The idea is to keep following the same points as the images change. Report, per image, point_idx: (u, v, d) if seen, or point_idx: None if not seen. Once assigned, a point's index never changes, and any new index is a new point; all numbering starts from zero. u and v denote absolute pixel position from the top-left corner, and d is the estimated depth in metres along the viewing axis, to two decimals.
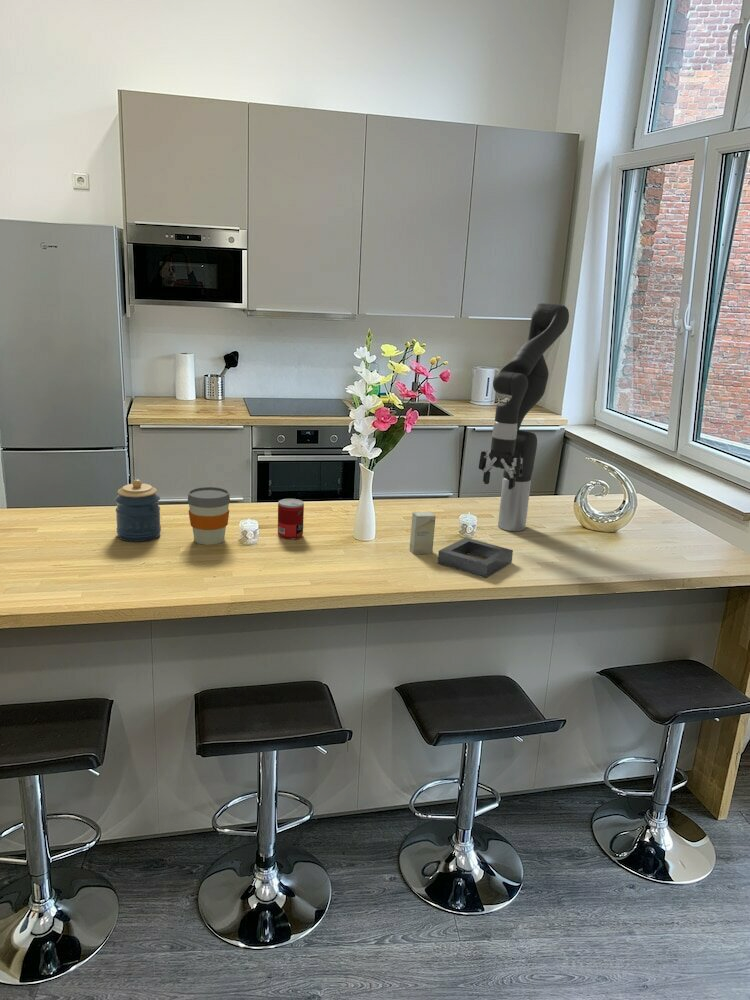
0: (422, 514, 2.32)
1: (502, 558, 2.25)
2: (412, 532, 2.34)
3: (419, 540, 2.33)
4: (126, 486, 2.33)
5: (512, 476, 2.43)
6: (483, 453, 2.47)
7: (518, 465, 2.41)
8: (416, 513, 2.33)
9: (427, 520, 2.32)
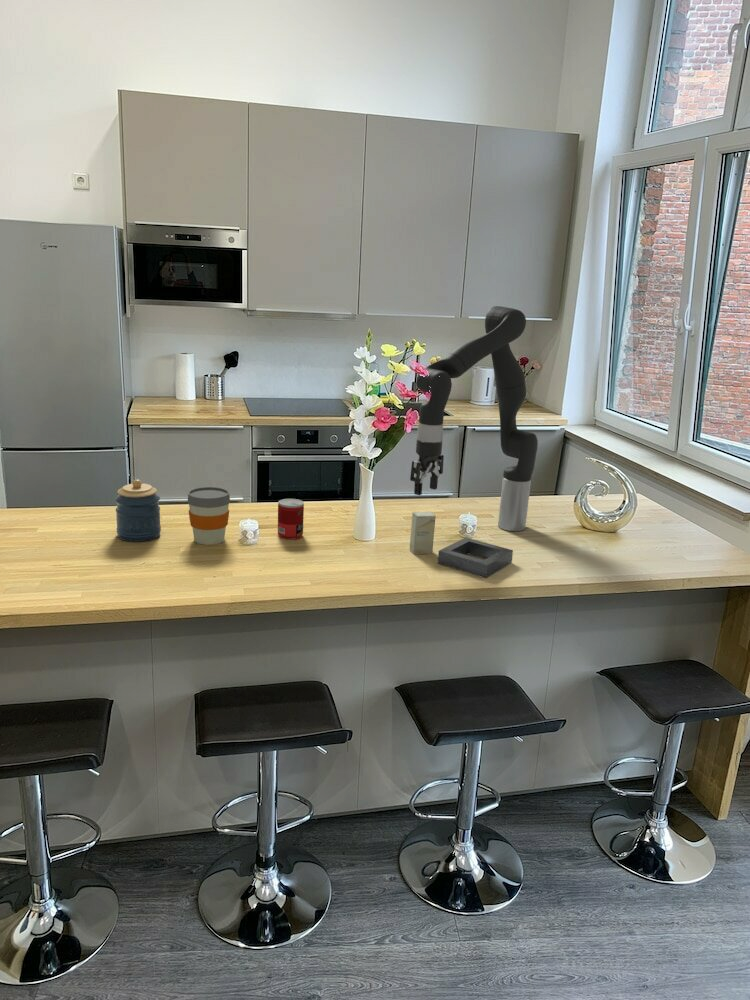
0: (422, 514, 2.32)
1: (502, 558, 2.25)
2: (412, 532, 2.34)
3: (419, 540, 2.33)
4: (126, 486, 2.33)
5: (438, 475, 2.33)
6: None
7: (442, 462, 2.33)
8: (416, 513, 2.33)
9: (427, 520, 2.32)
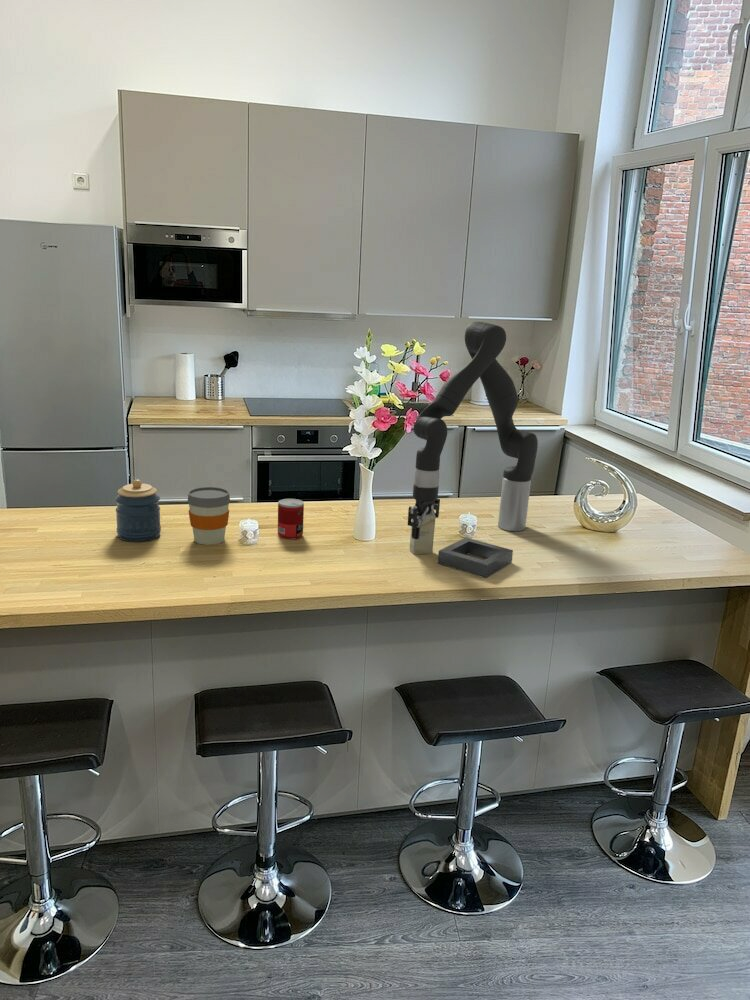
0: None
1: (502, 558, 2.25)
2: None
3: (419, 540, 2.33)
4: (126, 486, 2.33)
5: None
6: (416, 509, 2.27)
7: (438, 505, 2.37)
8: None
9: (427, 520, 2.32)
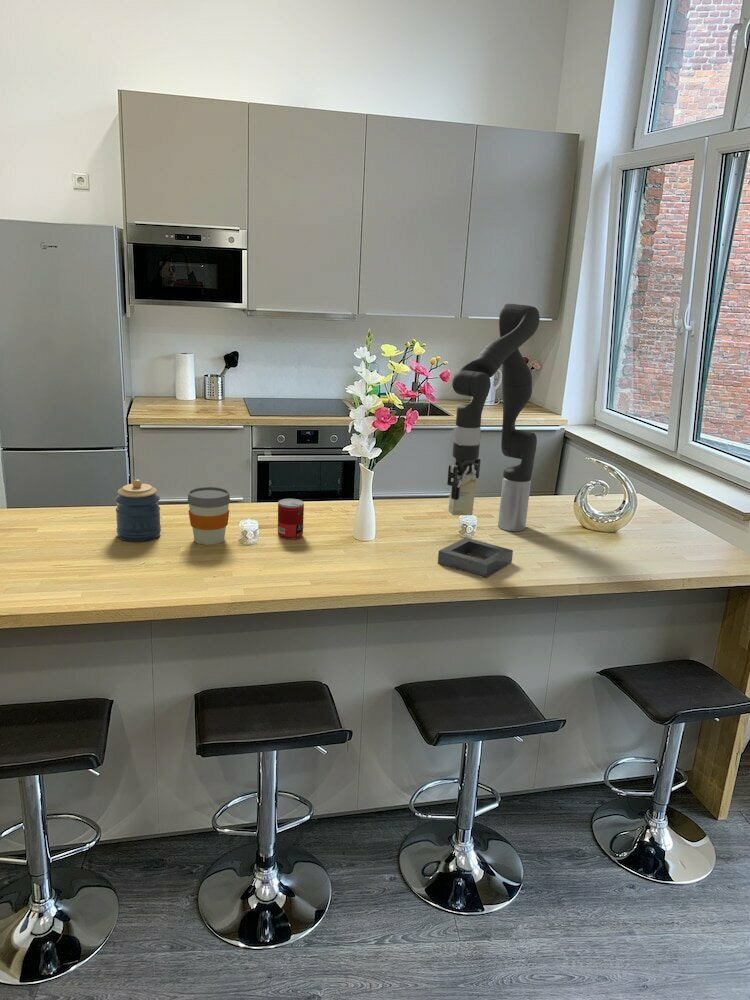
0: None
1: (502, 558, 2.25)
2: None
3: (459, 501, 2.24)
4: (126, 486, 2.33)
5: None
6: (457, 468, 2.18)
7: (479, 465, 2.28)
8: None
9: (467, 480, 2.23)
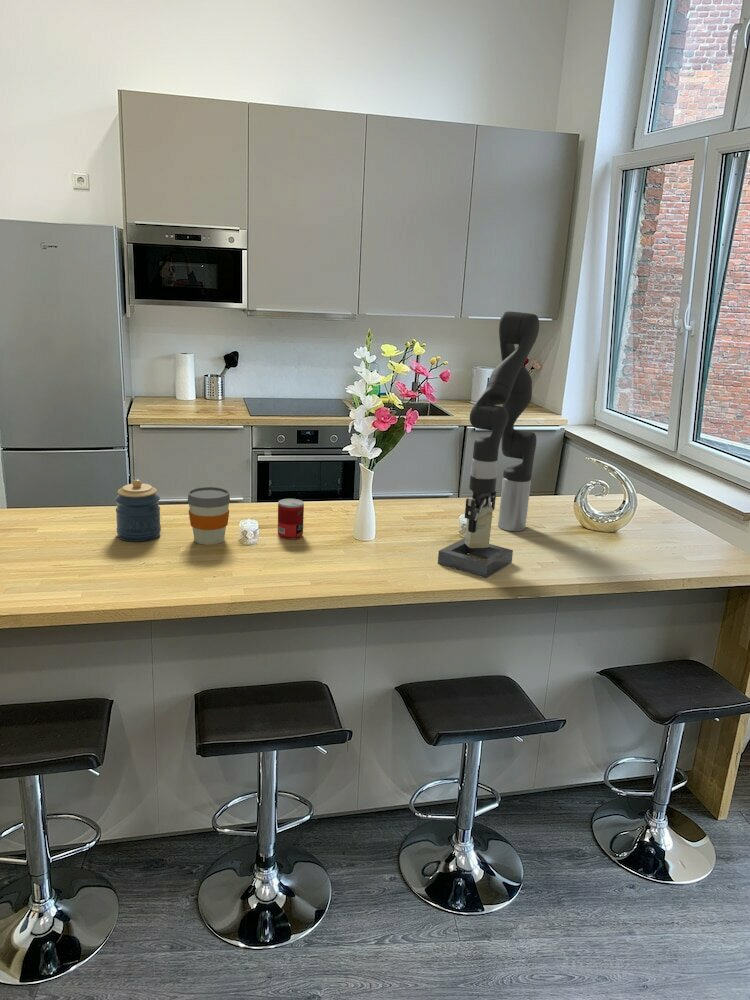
0: None
1: (502, 558, 2.25)
2: None
3: (476, 533, 2.24)
4: (126, 486, 2.33)
5: None
6: (474, 501, 2.18)
7: (495, 498, 2.28)
8: None
9: (484, 513, 2.23)
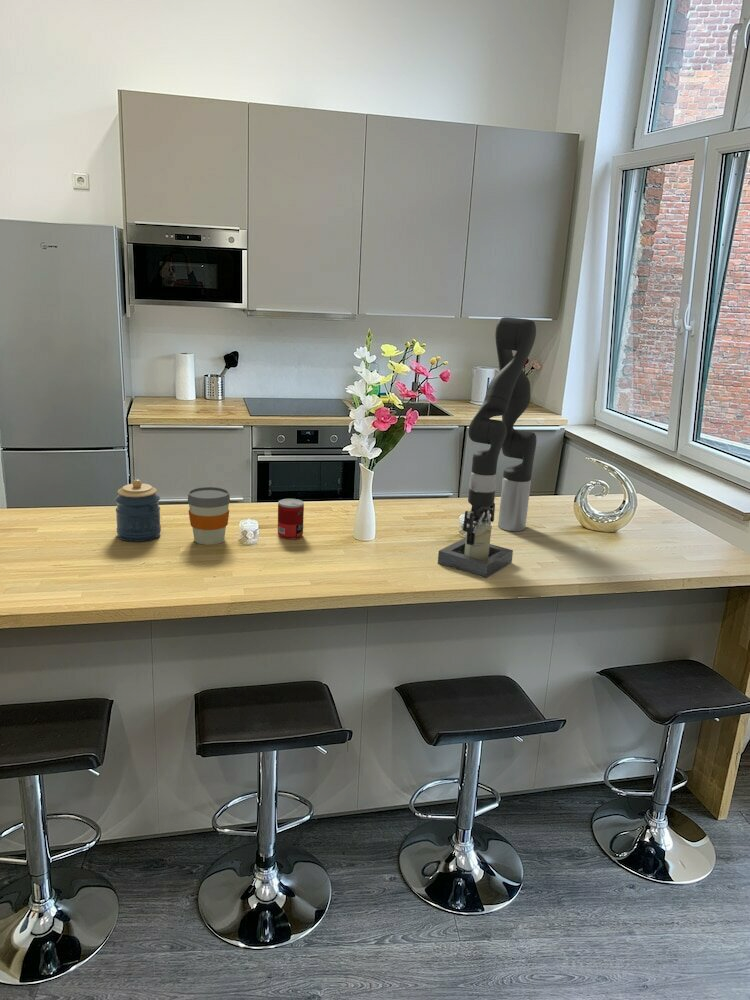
0: None
1: (502, 558, 2.25)
2: None
3: (474, 551, 2.26)
4: (126, 486, 2.33)
5: (490, 523, 2.29)
6: (473, 514, 2.19)
7: (494, 509, 2.30)
8: None
9: (483, 531, 2.25)
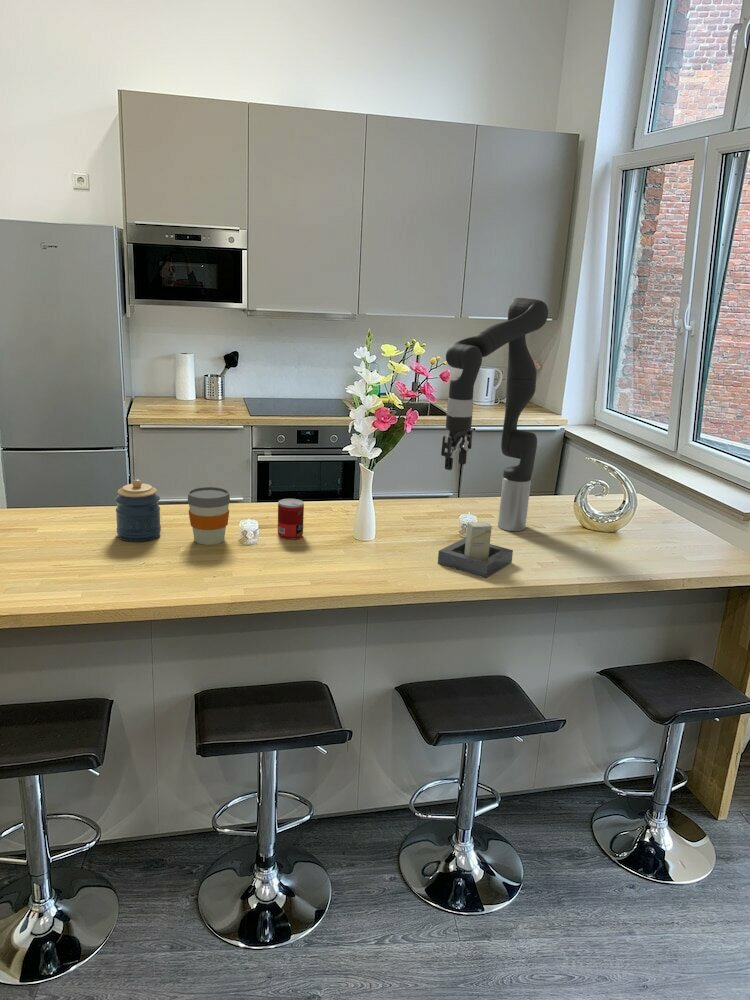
0: (478, 524, 2.26)
1: (502, 558, 2.25)
2: (467, 543, 2.28)
3: (474, 551, 2.26)
4: (126, 486, 2.33)
5: (467, 450, 2.35)
6: None
7: (471, 436, 2.35)
8: (471, 523, 2.26)
9: (483, 531, 2.25)
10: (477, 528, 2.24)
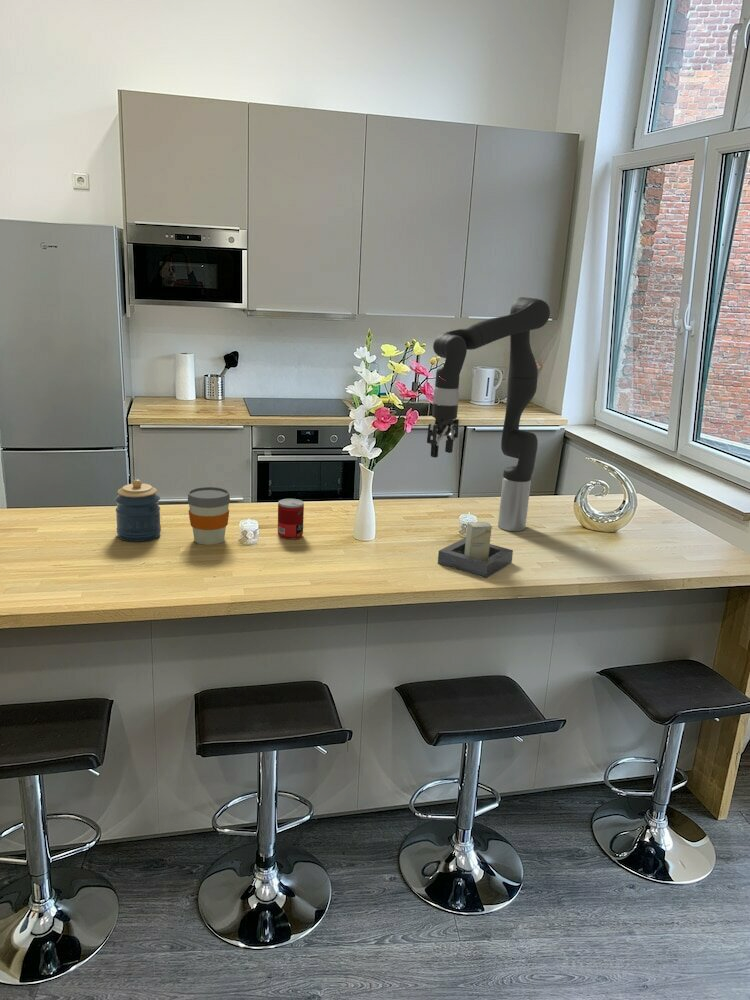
0: (478, 524, 2.26)
1: (502, 558, 2.25)
2: (467, 543, 2.28)
3: (474, 551, 2.26)
4: (126, 486, 2.33)
5: (454, 438, 2.40)
6: (436, 426, 2.30)
7: (457, 426, 2.40)
8: (471, 523, 2.26)
9: (483, 531, 2.25)
10: (477, 528, 2.24)
